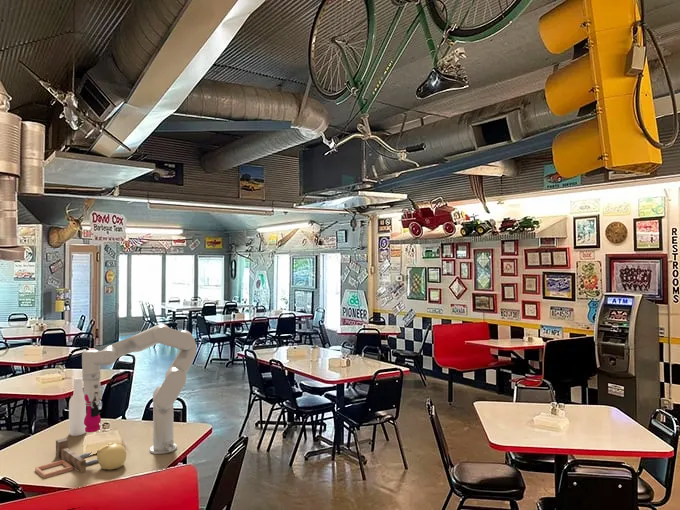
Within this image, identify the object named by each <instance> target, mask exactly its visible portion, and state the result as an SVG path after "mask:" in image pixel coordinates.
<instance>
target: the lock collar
mask: <svg viewBox="0 0 680 510" xmlns="http://www.w3.org/2000/svg"><path fill="white" fill-rule="evenodd" d="M59 465H63V466H64V468H61V469H57V470H55V471H51V472H46V473H45V472H44V471H43V470H45V469H49V468H52V467H56V466H59ZM73 470H74V468H73V466H71V465H70V464H69V463H67V462H66V461H64V460H62V459H59V460H58V461H54V462H49V463H45V464H44V465H43V464H42V465H39V466H35V467H34V471H35V472H36V473H37V474H38V475H40V477H42V478H43V479H47V478H50V477H54V476H56V475H60V474H64V473H67V472H70V471H73ZM46 477H47V478H46Z"/></svg>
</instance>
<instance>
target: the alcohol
mask: <svg viewBox="0 0 680 510" xmlns="http://www.w3.org/2000/svg"><path fill="white" fill-rule="evenodd" d="M73 382H74V383H73V395H72V396H71V397H70V398H69V402H68V434H69V436H72V437H76V436H77V437H78V436H82V435H85V434H87V432H85V427H86V426H85V425H84V419H85V416H86V401H85V399H84V394H83V387H84V386H83V377H82V376H81V377H79V376H78V377H75V378H73Z"/></svg>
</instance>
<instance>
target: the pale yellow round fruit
mask: <svg viewBox="0 0 680 510" xmlns="http://www.w3.org/2000/svg"><path fill="white" fill-rule="evenodd" d="M123 444H124V443H122V442H108V443H106V444H104V446H102V447H100V448H97V454H96V459H98V464H99V467H100V468H101V469H103V470H115V469H118V468H121V467H122V466H124V464H125V463H126V459H127V450H126V448H125V447H124V445H123Z"/></svg>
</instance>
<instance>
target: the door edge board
mask: <svg viewBox="0 0 680 510" xmlns="http://www.w3.org/2000/svg"><path fill="white" fill-rule="evenodd" d="M79 455H80V454H77V453H76V452H74V451H73V450H71V449H69V439H67V438H65V437H63V438H60V439H56V440H55V458H56V459H57V460H64V461H66V462H67V463H69V464H70V465H71V466H73V469H75V470H76V471H78V472H79V473H80V474H82V473H85V472H86V471H87V470H86V469H87V468H86V467H87V466H86V462H87V460H86V459H85V458H82V457H80V456H79Z"/></svg>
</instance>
